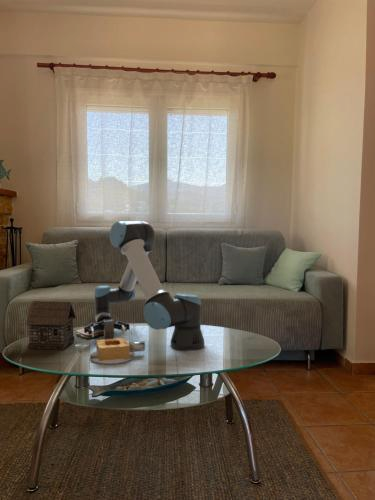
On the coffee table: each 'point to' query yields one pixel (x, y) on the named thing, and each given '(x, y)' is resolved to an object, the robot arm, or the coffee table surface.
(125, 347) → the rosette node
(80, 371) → the coffee table surface
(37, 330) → the model building
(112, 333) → the wedge pin
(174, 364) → the coffee table surface
